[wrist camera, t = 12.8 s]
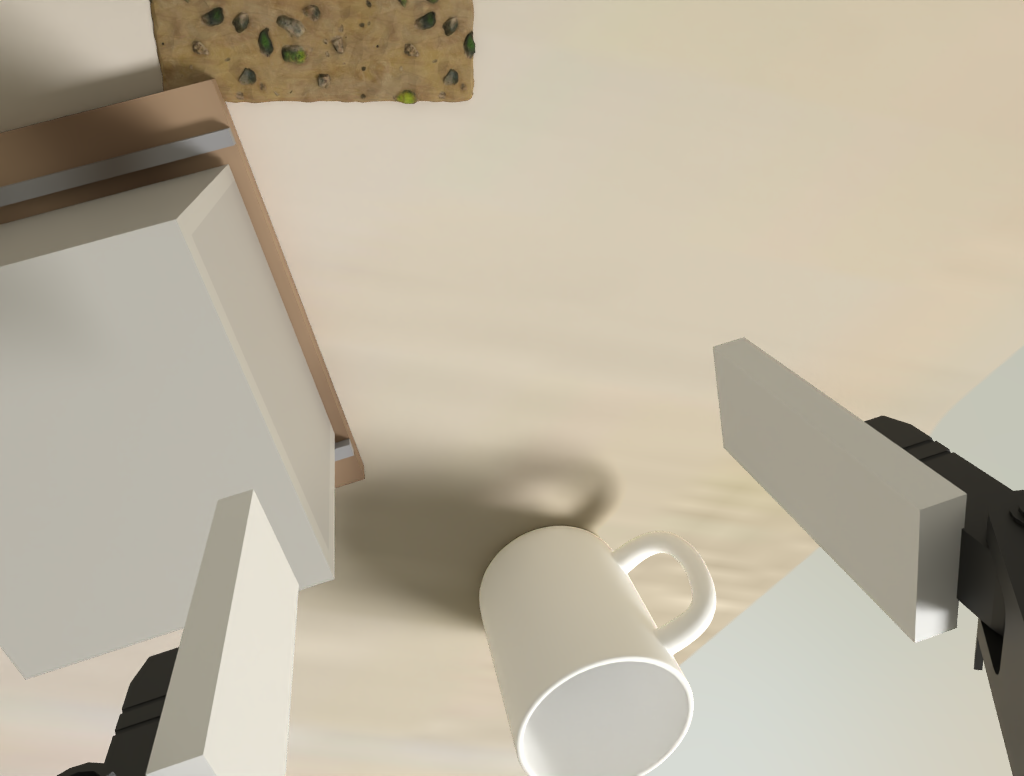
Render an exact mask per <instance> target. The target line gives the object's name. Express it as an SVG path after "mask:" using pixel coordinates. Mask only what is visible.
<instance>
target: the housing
mask: <svg viewBox="0 0 1024 776" xmlns="http://www.w3.org/2000/svg"><path fill="white" fill-rule="evenodd" d="M252 489H254V491H255V493H256V496H257V498H258V500H259V502H260V504H261V506H262V508H263V510H264V512H265V515H266V517H267V519H268V521H269V523H270V525H271V527H272V529H273V531H274V534H275V536H276V538H277V540H278V542H279V544H280V546H281V548H282V551H283V553H284V555H285V557H286V559H287V561H288V563H289V565H290V567H291V570H292V572H293V574H294V576H295V578H296V580H297V582H298V584H299V590H298V591H300V590H303V589H306V588H309V587H312V586H315V585H318V584H321V583H324V582H328V581H331V580H334V579H335V433H334V431H333V428H332V426H331V423H330V421H329V418H328V416H327V413H326V410H325V408H324V405H323V403H322V400H321V398H320V395H319V393H318V390H317V388H316V385H315V382H314V380H313V377H312V375H311V372H310V370H309V367H308V365H307V362H306V360H305V357H304V355H303V352H302V349H301V347H300V344H299V342H298V339H297V337H296V334H295V332H294V329H293V327H292V324H291V321H290V319H289V316H288V314H287V311H286V309H285V306H284V304H283V301H282V299H281V296H280V293H279V291H278V288H277V286H276V283H275V281H274V278H273V276H272V273H271V271H270V268H269V266H268V263H267V260H266V258H265V255H264V253H263V250H262V248H261V245H260V243H259V240H258V238H257V235H256V232H255V230H254V227H253V225H252V222H251V220H250V217H249V215H248V212H247V210H246V207H245V205H244V202H243V199H242V197H241V194H240V192H239V189H238V187H237V184H236V182H235V179H234V177H233V174H232V171H231V169H230V166H229V164H226V165H222V166H219V167H215V168H211V169H207V170H204V171H200V172H196V173H192V174H189V175H185V176H181V177H177V178H173V179H170V180H166V181H162V182H158V183H155V184H151V185H147V186H143V187H140V188H136V189H132V190H128V191H124V192H121V193H117V194H113V195H109V196H106V197H102V198H98V199H94V200H91V201H87V202H83V203H79V204H75V205H72V206H68V207H64V208H60V209H57V210H53V211H49V212H45V213H42V214H38V215H34V216H30V217H26V218H23V219H19V220H15V221H11V222H8V223H4V224H0V647H1V648H2V650H3V651H4V652H5V653H6V655H7V656H8V657H9V659H10V660H11V661H12V663H13V664H14V665H15V667H16V668H17V669H18V671H19V672H20V673H21V675H22V676H23V677H24V679H25V680H26V679H29V678H32V677H35V676H39V675H42V674H45V673H48V672H51V671H54V670H57V669H60V668H63V667H66V666H69V665H72V664H75V663H78V662H82V661H85V660H88V659H91V658H94V657H97V656H100V655H103V654H106V653H109V652H112V651H115V650H118V649H122V648H125V647H128V646H131V645H134V644H137V643H140V642H143V641H146V640H149V639H152V638H155V637H158V636H162V635H165V634H168V633H171V632H174V631H177V630H180V629H183V628H184V627H185V623H186V619H187V615H188V611H189V608H190V604H191V600H192V596H193V592H194V589H195V585H196V581H197V577H198V573H199V570H200V566H201V562H202V558H203V554H204V551H205V547H206V543H207V539H208V535H209V532H210V528H211V524H212V520H213V517H214V513H215V509H216V505H217V501H218V500H219V499H223V498H226V497H229V496H232V495H236V494H239V493H242V492H245V491H249V490H252Z"/></svg>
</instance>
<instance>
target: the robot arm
mask: <svg viewBox="0 0 1024 776" xmlns="http://www.w3.org/2000/svg"><path fill="white" fill-rule="evenodd" d="M713 353H714V362H715V371H716V381H717V390H718V399H719V408H720V418H721V427H722V436H723V446H724V448H725V449H726V450H727V451H728V452H729V454H730V455H731V456H732V457H733V458H734V459H735V460H736V461H737V462H738V463H739V464H740V465H741V466H742V467H743V468H744V469H745V470H746V471H747V472H748V473H749V474H750V475H751V476H752V477H753V478H754V479H755V480H756V481H757V482H758V483H759V484H760V485H761V486H762V487H763V488H764V489H765V490H766V491H767V492H768V493H769V494H770V495H771V496H772V498H773V499H774V500H775V501H776V502H777V503H778V504H779V505H780V506H781V507H782V508H783V509H784V510H785V511H786V512H787V513H788V514H789V515H790V516H791V517H792V518H793V519H794V520H795V521H796V522H797V523H798V524H799V525H800V526H801V527H802V528H803V529H804V530H805V531H806V532H807V533H808V534H809V535H810V536H811V537H812V538H813V539H814V540H815V542H816V543H817V544H818V545H819V546H820V547H821V548H822V549H823V550H824V551H825V552H826V553H827V554H828V555H829V556H830V557H831V558H832V559H833V560H834V561H835V562H836V563H837V564H838V565H839V566H840V567H841V568H842V569H843V570H844V571H845V572H846V573H847V574H848V575H849V576H850V577H851V578H852V579H853V580H854V581H855V582H856V583H857V584H858V585H859V587H860V588H861V589H862V590H863V591H864V592H865V593H866V594H867V595H868V596H869V597H870V598H871V599H872V600H873V601H874V602H875V603H876V604H877V605H878V606H879V607H880V608H881V609H882V610H883V611H884V612H885V613H886V614H887V615H888V616H889V617H890V618H891V619H892V620H893V621H894V622H895V623H896V624H897V625H898V626H899V627H900V628H901V630H902V631H903V632H904V633H905V634H906V635H907V636H908V637H909V638H910V639H911V640H912V641H913V642H914V643H916V642H919V641H921V640H925V639H927V638H930V637H933V636H936V635H938V634H941V633H944V632H947V631H949V630H952V629H955V628H957V615H958V603H959V601H960V602H961V603H963V604H964V605H965V606H966V607H967V608H968V609H970V610H971V611H972V612H973V613H974V614H975V615H976V616H977V617H978V629H977V638H976V650H975V661H974V669H976V670H982V666H983V661H984V664H985V668H986V672H987V676H988V680H989V684H990V688H991V692H992V696H993V700H994V703H995V707H996V711H997V715H998V719H999V723H1000V727H1001V731H1002V735H1003V738H1004V742H1005V747H1006V750H1007V754H1008V758H1009V762H1010V766H1011V770H1012V774H1013V776H1024V490H1019V491H1012V490H1011V489H1009V488H1008V487H1006V486H1005V485H1003V484H1002V483H1000V482H999V481H997V480H996V479H994V478H993V477H991V476H989V475H988V474H986V473H985V472H983V471H982V470H980V469H979V468H977V467H976V466H974V465H973V464H971V463H969V462H968V461H966V460H965V459H963V458H962V457H960V456H959V455H957V454H956V453H951V452H950V450H949V449H948V448H946V447H945V446H943V445H942V444H940V443H939V442H937V441H935V442H934V441H933V440H932V438H931V437H930V436H928V435H926V434H925V433H923V432H922V431H920V430H919V429H917V428H916V427H914V426H913V425H911V424H908V423H905V422H902V421H898V420H895V419H892V418H889V417H886V416H880V417H877V418H874V419H871V420H868V421H862V420H861V419H860V418H858V417H857V416H855V415H854V414H852V413H851V412H850V411H848V410H847V409H845V408H844V407H842V406H841V405H840V404H838V403H837V402H835V401H834V400H832V399H831V398H830V397H828V396H827V395H825V394H824V393H822V392H821V391H820V390H818V389H817V388H815V387H814V386H813V385H811V384H810V383H808V382H807V381H805V380H804V379H803V378H801V377H800V376H798V375H797V374H795V373H794V372H793V371H791V370H790V369H788V368H787V367H785V366H784V365H783V364H781V363H780V362H778V361H777V360H775V359H774V358H773V357H771V356H770V355H768V354H767V353H766V352H764V351H763V350H761V349H760V348H758V347H757V346H756V345H754V344H753V343H751V342H750V341H748V340H747V339H746V338H740V339H737V340H734V341H731V342H727V343H724V344H721V345H718V346H714V347H713ZM298 590H299V584H298V582H297V580H296V578H295V576H294V574H293V572H292V570H291V567H290V565H289V563H288V561H287V559H286V557H285V555H284V553H283V551H282V548H281V546H280V544H279V542H278V540H277V538H276V536H275V534H274V531H273V529H272V527H271V525H270V523H269V521H268V519H267V517H266V515H265V512H264V510H263V508H262V506H261V504H260V502H259V500H258V498H257V496H256V493H255V491H254V489H252V490H249V491H245V492H242V493H239V494H236V495H232V496H229V497H226V498H223V499H219V500H218V501H217V505H216V509H215V513H214V517H213V520H212V524H211V528H210V532H209V535H208V539H207V543H206V547H205V551H204V554H203V558H202V562H201V566H200V570H199V573H198V577H197V581H196V585H195V589H194V592H193V596H192V600H191V604H190V608H189V611H188V615H187V619H186V623H185V627H184V630H183V634H182V638H181V642H180V646H179V647H178V648H175V649H172V650H169V651H166V652H163V653H160V654H157V655H154V656H151V657H149V658H148V659H147V661H146V662H145V664H144V665H143V666H142V668H141V669H140V671H139V672H138V673H137V675H136V676H135V677H134V679H133V680H132V682H131V683H130V686H129V689H128V692H127V695H126V698H125V701H124V704H123V707H122V712H123V713H122V714H120V716H119V719H118V722H117V726H116V729H115V732H116V735H115V736H113V738H112V741H111V744H110V747H109V750H108V753H107V756H106V759H105V762H104V763H90V762H88V763H85V764H82V765H79V766H75V767H72V768H69V769H68V770H66V771H64V772H62V773H61V774H59V775H57V776H286V762H287V748H288V733H289V719H290V705H291V690H292V676H293V662H294V647H295V633H296V619H297V604H298Z"/></svg>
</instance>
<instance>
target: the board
mask: <svg viewBox="0 0 1024 776" xmlns="http://www.w3.org/2000/svg"><path fill="white" fill-rule="evenodd" d="M226 164H229V166H230V169H231V171H232V174H233V177H234V179H235V182H236V184H237V187H238V189H239V192H240V194H241V197H242V199H243V202H244V205H245V207H246V210H247V212H248V215H249V217H250V220H251V222H252V225H253V227H254V230H255V232H256V235H257V238H258V240H259V243H260V245H261V248H262V250H263V253H264V255H265V258H266V260H267V263H268V266H269V268H270V271H271V273H272V276H273V278H274V281H275V283H276V286H277V288H278V291H279V293H280V296H281V299H282V301H283V304H284V306H285V309H286V311H287V314H288V316H289V319H290V321H291V324H292V327H293V329H294V332H295V334H296V337H297V339H298V342H299V344H300V347H301V349H302V352H303V355H304V357H305V360H306V362H307V365H308V367H309V370H310V372H311V375H312V377H313V380H314V382H315V385H316V388H317V390H318V393H319V395H320V398H321V400H322V403H323V405H324V408H325V410H326V413H327V416H328V418H329V421H330V423H331V426H332V428H333V431H334V433H335V488H337V487H340V486H343V485H347V484H350V483H353V482H356V481H359V480H363V479H365V474H364V465H363V462H362V460H361V457H360V454H359V452H358V449H357V447H356V444H355V441H354V439H353V436H352V433H351V431H350V428H349V426H348V423H347V420H346V418H345V415H344V412H343V410H342V407H341V405H340V402H339V399H338V397H337V394H336V391H335V389H334V386H333V384H332V381H331V378H330V376H329V373H328V370H327V368H326V365H325V363H324V360H323V357H322V355H321V352H320V349H319V347H318V344H317V342H316V339H315V336H314V334H313V331H312V328H311V326H310V323H309V321H308V318H307V315H306V313H305V310H304V307H303V305H302V302H301V299H300V297H299V294H298V292H297V289H296V286H295V284H294V281H293V278H292V276H291V273H290V271H289V268H288V265H287V263H286V260H285V257H284V255H283V252H282V250H281V247H280V244H279V242H278V239H277V236H276V234H275V231H274V229H273V226H272V223H271V221H270V218H269V215H268V213H267V210H266V208H265V205H264V202H263V200H262V197H261V194H260V192H259V189H258V187H257V184H256V181H255V179H254V176H253V173H252V171H251V168H250V166H249V163H248V160H247V158H246V155H245V152H244V150H243V147H242V145H241V142H240V139H239V137H238V134H237V131H236V129H235V126H234V124H233V121H232V118H231V116H230V113H229V110H228V108H227V105H226V103H225V101H224V100H223V98H222V95H221V93H220V90H219V87H218V85H217V82H216V80H215V79H211V80H207V81H203V82H199V83H196V84H192V85H188V86H184V87H180V88H176V89H172V90H168V91H164V92H160V93H156V94H152V95H148V96H144V97H140V98H136V99H132V100H128V101H125V102H121V103H117V104H113V105H109V106H105V107H101V108H97V109H93V110H89V111H85V112H81V113H77V114H73V115H69V116H65V117H61V118H57V119H54V120H50V121H46V122H42V123H38V124H34V125H30V126H26V127H22V128H18V129H14V130H10V131H6V132H2V133H0V224H4V223H8V222H11V221H15V220H19V219H23V218H26V217H30V216H34V215H38V214H42V213H45V212H49V211H53V210H57V209H60V208H64V207H68V206H72V205H75V204H79V203H83V202H87V201H91V200H94V199H98V198H102V197H106V196H109V195H113V194H117V193H121V192H124V191H128V190H132V189H136V188H140V187H143V186H147V185H151V184H155V183H158V182H162V181H166V180H170V179H173V178H177V177H181V176H185V175H189V174H192V173H196V172H200V171H204V170H207V169H211V168H215V167H219V166H222V165H226Z"/></svg>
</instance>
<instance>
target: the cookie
mask: <svg viewBox="0 0 1024 776" xmlns="http://www.w3.org/2000/svg"><path fill="white" fill-rule="evenodd" d="M150 2H151V14H152V19H153V22H154V36H155V40H156V44H157V52H158V57H159V61H160V66H161V71H162V75H163V90H164V91H168V90H172V89H176V88H180V87H184V86H188V85H192V84H196V83H199V82H203V81H207V80H211V79H215V80H216V82H217V85H218V87H219V90H220V93H221V95H222V98H223V100H224V101H226V102H234V103H238V102H250V103H260V102H270V101H301V102H315V101H341V102H355V101H356V102H362V103H363V102H370V101H398V102H402V103H405V104H414V103H416V102H417V101H431V102H441V101H445V102H460V101H467V100H469V99H471V98H472V95H473V87H474V79H473V54H474V53H475V43H474V41H473V21H474V8H473V2H472V0H150Z"/></svg>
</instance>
